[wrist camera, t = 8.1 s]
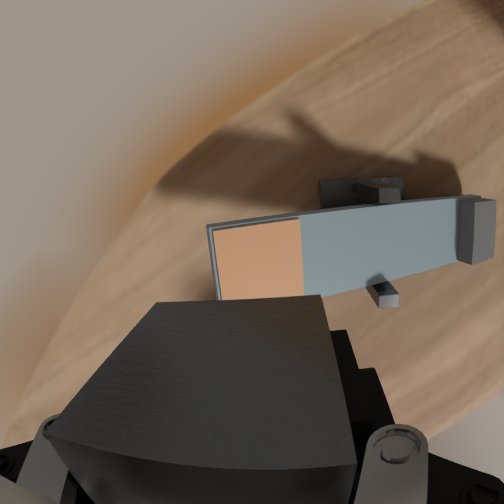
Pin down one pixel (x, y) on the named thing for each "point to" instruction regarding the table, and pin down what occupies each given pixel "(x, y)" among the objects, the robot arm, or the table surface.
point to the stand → (359, 194)
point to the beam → (347, 246)
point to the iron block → (214, 409)
